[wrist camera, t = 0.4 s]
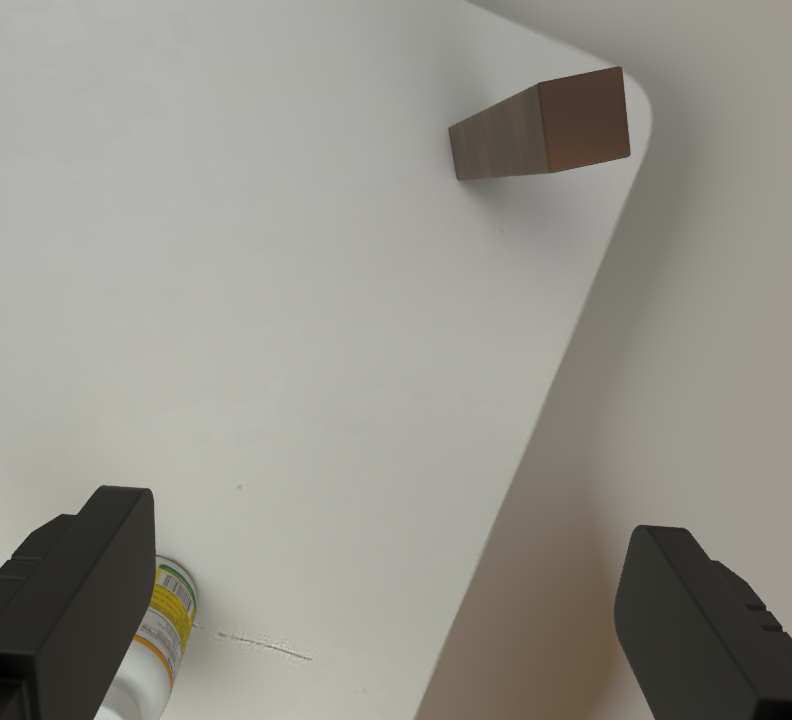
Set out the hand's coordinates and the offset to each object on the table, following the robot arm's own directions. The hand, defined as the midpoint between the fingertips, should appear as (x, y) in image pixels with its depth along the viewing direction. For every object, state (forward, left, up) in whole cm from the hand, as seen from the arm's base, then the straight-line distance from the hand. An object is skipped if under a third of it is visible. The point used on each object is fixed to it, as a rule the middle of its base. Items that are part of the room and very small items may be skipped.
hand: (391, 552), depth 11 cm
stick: (-9, +3, -22) cm, 24 cm away
